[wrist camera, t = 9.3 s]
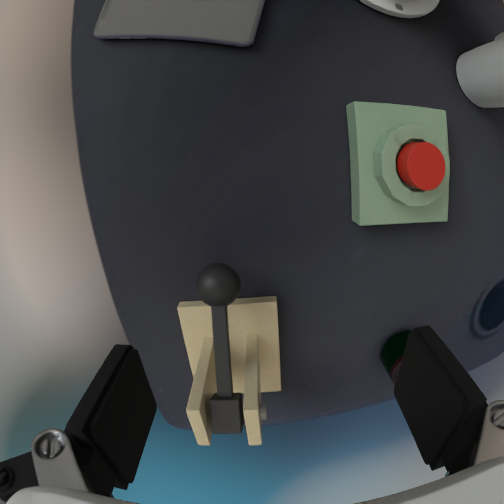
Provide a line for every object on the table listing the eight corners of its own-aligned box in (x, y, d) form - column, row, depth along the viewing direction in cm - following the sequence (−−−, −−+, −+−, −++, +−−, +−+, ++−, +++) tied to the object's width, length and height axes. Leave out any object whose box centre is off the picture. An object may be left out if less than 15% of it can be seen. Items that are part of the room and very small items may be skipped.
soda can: (379, 334, 29) (427, 413, 18) (420, 323, 29) (476, 392, 17) (377, 369, 30) (415, 447, 19) (415, 358, 30) (461, 428, 19)
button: (395, 141, 20) (406, 140, 18) (433, 143, 20) (445, 143, 18) (397, 187, 21) (407, 190, 19) (434, 188, 21) (445, 190, 19)
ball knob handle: (200, 268, 25) (190, 260, 22) (240, 265, 25) (236, 257, 22) (210, 421, 22) (202, 435, 19) (251, 421, 22) (249, 435, 19)
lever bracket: (179, 301, 28) (145, 375, 18) (276, 295, 28) (287, 372, 17) (199, 387, 31) (183, 464, 21) (280, 383, 31) (288, 463, 21)
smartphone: (251, 47, 20) (89, 38, 19) (251, 51, 21) (94, 41, 20) (270, -20, 18) (115, -24, 17) (269, -15, 19) (118, -20, 18)
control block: (345, 105, 22) (361, 97, 19) (433, 112, 22) (457, 108, 18) (351, 220, 25) (367, 231, 22) (435, 216, 25) (458, 226, 21)
